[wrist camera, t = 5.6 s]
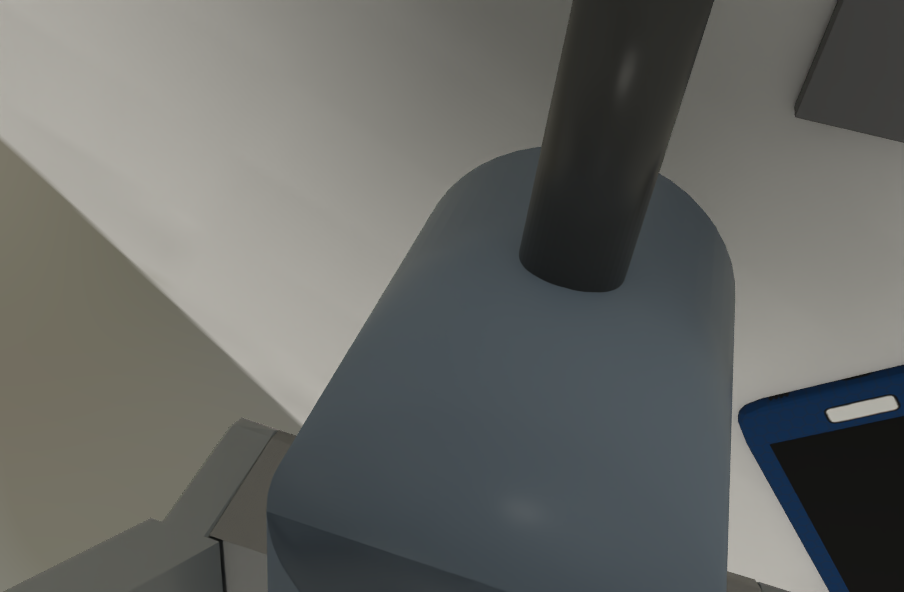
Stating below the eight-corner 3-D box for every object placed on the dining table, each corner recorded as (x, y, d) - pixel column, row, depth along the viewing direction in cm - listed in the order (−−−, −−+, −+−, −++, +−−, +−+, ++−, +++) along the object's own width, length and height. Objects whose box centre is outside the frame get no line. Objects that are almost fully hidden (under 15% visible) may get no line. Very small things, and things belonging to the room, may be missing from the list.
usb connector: (481, -241, 7) (252, -175, 4) (940, -157, 6) (1123, 3, 3) (370, 644, 15) (273, 888, 12) (561, 711, 15) (510, 984, 12)
